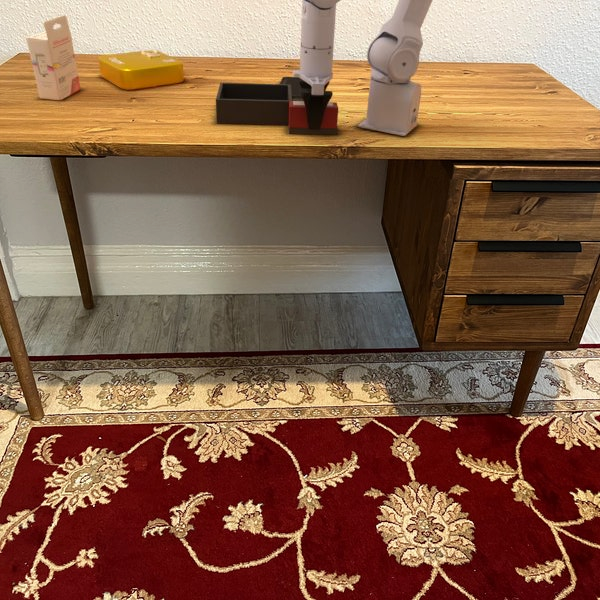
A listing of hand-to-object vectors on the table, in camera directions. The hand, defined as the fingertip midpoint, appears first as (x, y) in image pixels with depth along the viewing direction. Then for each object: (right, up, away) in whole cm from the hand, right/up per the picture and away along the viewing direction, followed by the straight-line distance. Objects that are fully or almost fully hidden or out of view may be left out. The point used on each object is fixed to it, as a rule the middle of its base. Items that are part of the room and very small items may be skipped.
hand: (313, 124), depth 110 cm
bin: (-11, +4, +8) cm, 14 cm away
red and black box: (0, -1, +1) cm, 1 cm away
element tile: (-39, +18, +26) cm, 50 cm away
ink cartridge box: (-53, +10, +14) cm, 55 cm away
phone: (-3, +14, +22) cm, 26 cm away
